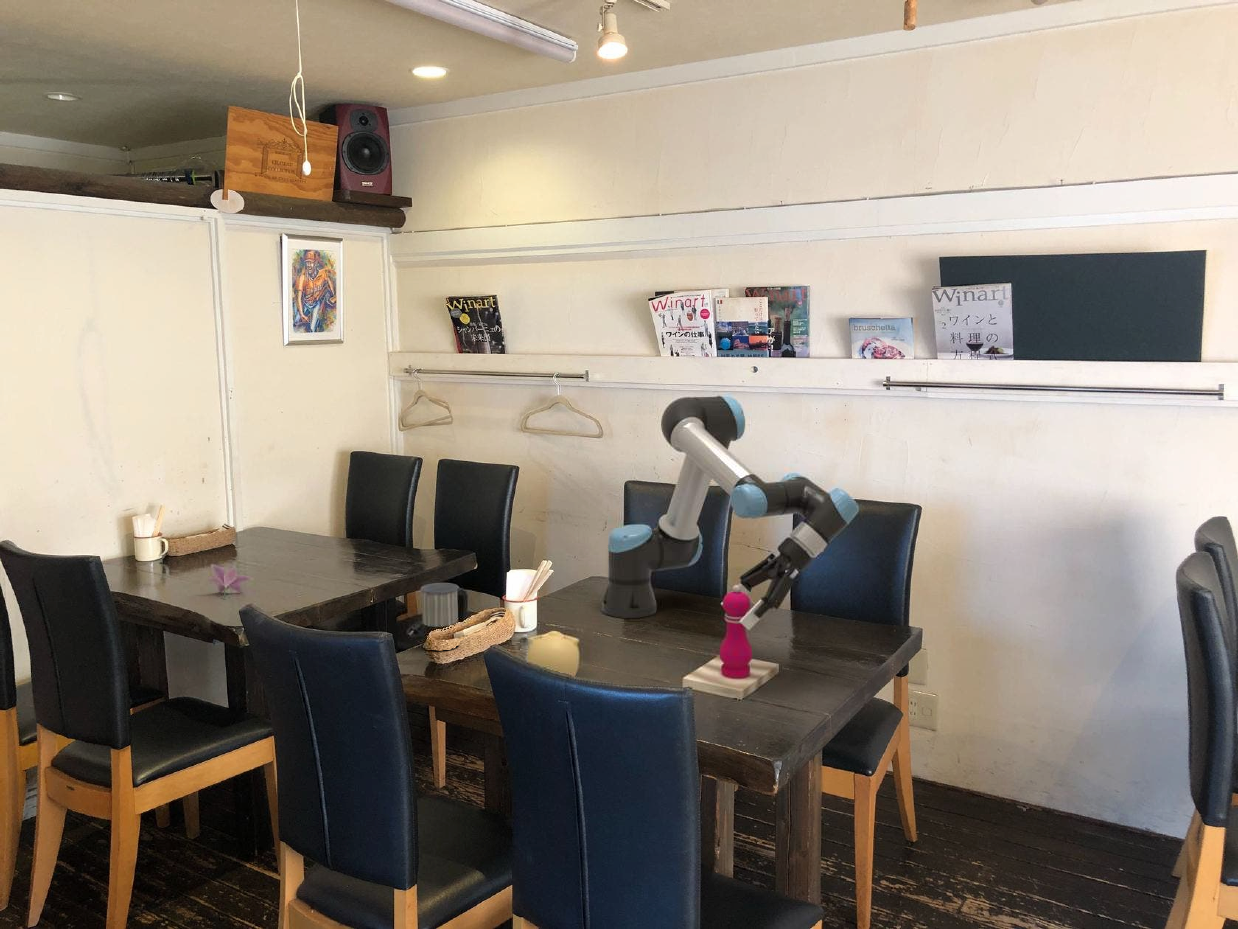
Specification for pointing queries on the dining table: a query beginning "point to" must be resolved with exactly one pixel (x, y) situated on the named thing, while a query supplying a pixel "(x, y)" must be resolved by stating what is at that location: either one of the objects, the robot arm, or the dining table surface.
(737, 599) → the pepper mill
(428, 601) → the milk frother
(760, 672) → the serving board
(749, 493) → the robot arm
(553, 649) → the sculpture
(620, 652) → the dining table surface
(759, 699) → the dining table surface
